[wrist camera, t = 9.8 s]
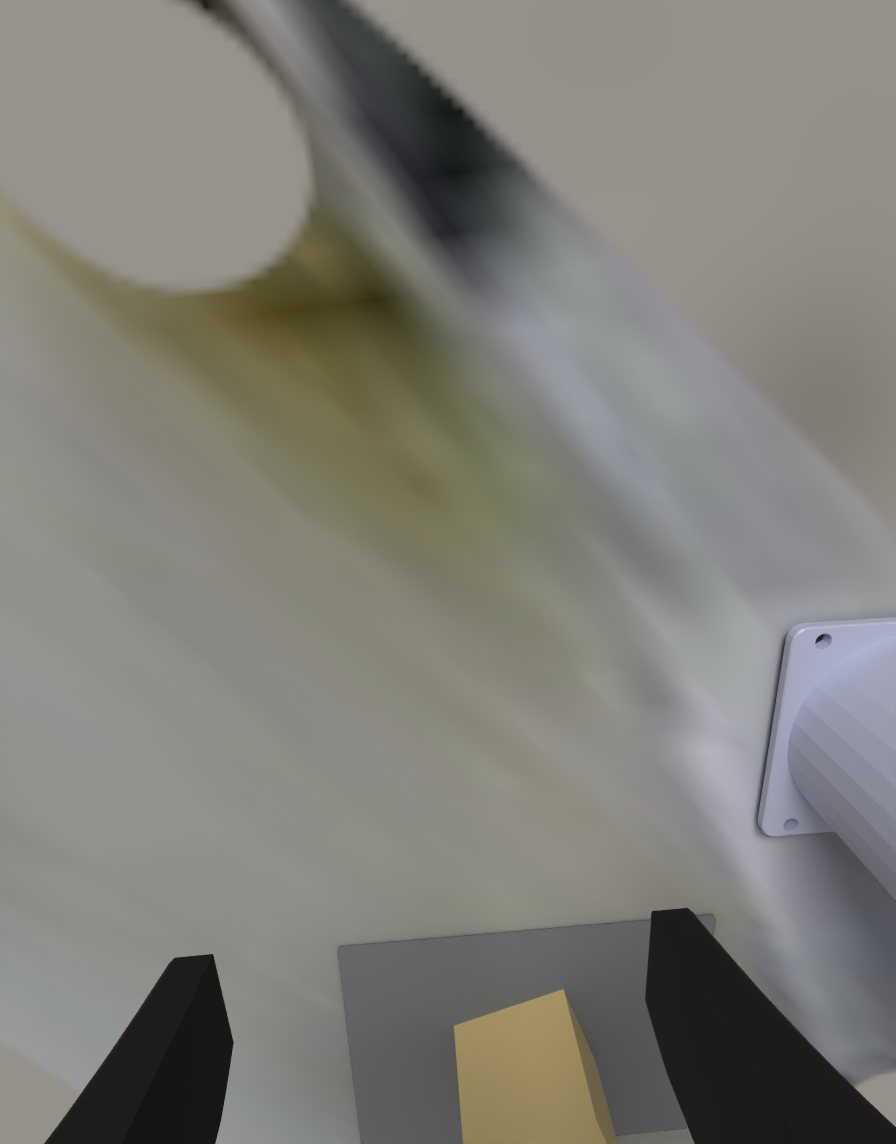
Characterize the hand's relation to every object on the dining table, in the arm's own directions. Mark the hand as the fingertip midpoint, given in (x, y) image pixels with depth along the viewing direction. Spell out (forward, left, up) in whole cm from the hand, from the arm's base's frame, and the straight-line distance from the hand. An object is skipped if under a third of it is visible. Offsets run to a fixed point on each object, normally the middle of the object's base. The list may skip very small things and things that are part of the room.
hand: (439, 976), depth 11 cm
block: (-3, +17, -10) cm, 20 cm away
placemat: (-3, +17, -10) cm, 20 cm away
